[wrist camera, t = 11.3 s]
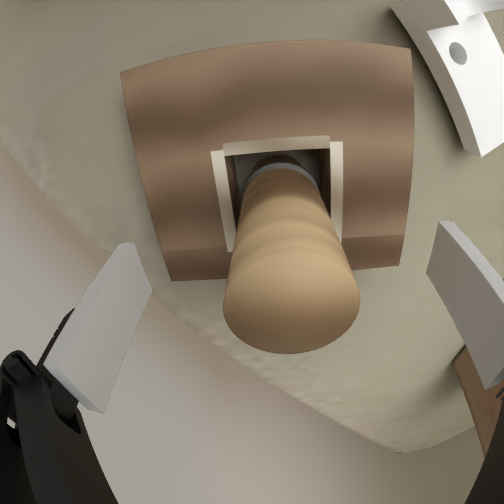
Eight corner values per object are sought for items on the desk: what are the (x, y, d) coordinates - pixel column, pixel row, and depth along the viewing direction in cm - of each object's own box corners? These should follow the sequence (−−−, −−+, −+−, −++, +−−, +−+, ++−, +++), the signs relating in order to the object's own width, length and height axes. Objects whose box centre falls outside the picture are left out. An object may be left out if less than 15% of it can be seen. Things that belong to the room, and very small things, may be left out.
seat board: (144, 73, 17) (119, 72, 14) (386, 53, 15) (411, 48, 12) (183, 253, 26) (171, 281, 22) (383, 239, 24) (399, 266, 20)
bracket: (385, 9, 13) (434, -15, 7) (441, -11, 11) (494, -27, 4) (457, 145, 19) (513, 175, 12) (502, 116, 16) (557, 138, 10)
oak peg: (242, 152, 20) (206, 257, 9) (309, 146, 20) (371, 245, 8) (250, 212, 23) (232, 357, 11) (311, 207, 23) (353, 349, 11)
